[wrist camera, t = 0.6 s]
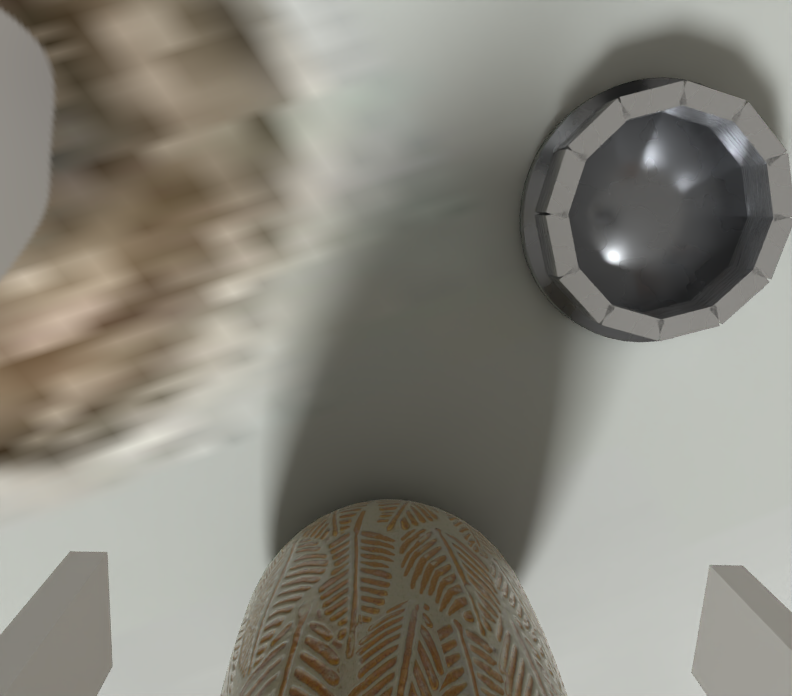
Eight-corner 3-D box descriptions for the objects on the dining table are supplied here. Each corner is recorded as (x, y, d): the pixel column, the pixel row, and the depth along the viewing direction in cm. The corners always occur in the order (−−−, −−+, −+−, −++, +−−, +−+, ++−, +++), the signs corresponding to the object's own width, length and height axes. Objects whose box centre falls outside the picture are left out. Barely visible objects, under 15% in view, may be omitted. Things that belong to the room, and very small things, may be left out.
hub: (495, 117, 38) (508, 109, 34) (751, 51, 38) (789, 36, 34) (547, 365, 41) (563, 379, 38) (782, 304, 41) (820, 313, 38)
